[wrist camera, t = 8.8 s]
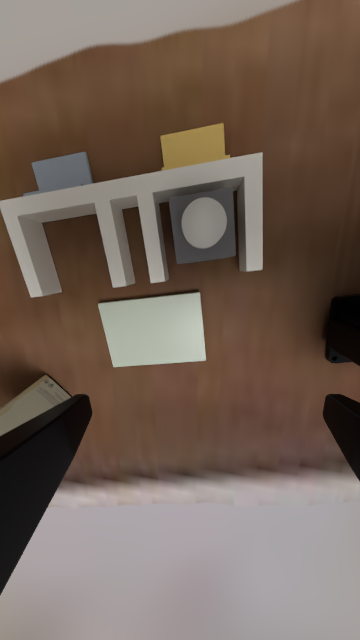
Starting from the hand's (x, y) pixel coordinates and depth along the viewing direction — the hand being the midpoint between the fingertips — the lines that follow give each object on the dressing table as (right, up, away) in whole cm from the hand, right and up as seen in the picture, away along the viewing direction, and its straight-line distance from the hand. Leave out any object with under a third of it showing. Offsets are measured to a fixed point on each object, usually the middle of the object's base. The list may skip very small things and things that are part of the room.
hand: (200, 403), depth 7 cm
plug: (+1, +10, +9) cm, 14 cm away
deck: (-3, +2, +12) cm, 13 cm away
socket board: (-5, +11, +10) cm, 15 cm away
